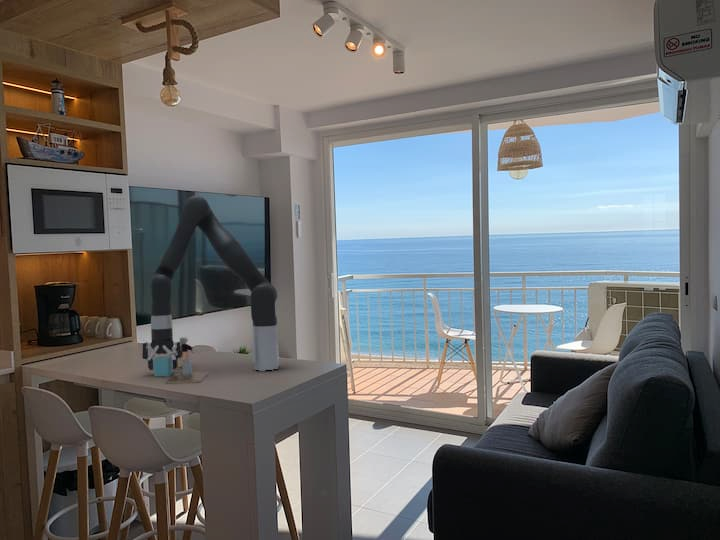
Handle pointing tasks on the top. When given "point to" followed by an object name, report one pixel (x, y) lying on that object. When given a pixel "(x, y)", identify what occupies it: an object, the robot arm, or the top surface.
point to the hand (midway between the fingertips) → (163, 369)
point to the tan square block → (187, 374)
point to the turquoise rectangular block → (163, 366)
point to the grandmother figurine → (184, 350)
